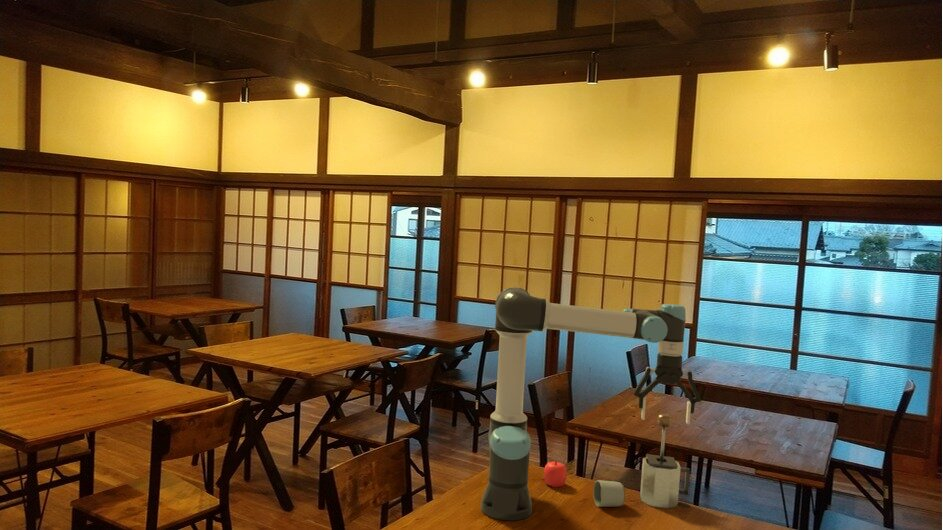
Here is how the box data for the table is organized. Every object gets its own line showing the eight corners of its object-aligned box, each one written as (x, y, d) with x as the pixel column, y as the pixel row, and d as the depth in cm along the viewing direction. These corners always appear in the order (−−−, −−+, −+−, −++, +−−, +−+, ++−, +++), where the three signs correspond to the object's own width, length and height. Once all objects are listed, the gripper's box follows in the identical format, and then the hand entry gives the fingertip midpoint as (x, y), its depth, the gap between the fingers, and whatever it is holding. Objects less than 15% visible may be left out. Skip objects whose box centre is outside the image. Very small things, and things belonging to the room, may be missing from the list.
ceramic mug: (626, 510, 201) (627, 485, 200) (600, 510, 199) (602, 485, 199) (612, 496, 211) (614, 472, 211) (588, 496, 210) (589, 473, 209)
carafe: (642, 505, 205) (645, 464, 204) (639, 492, 215) (642, 452, 215) (689, 511, 202) (692, 469, 201) (684, 497, 213) (687, 457, 212)
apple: (538, 480, 221) (540, 456, 220) (561, 479, 223) (562, 456, 222) (547, 489, 213) (549, 465, 213) (570, 488, 215) (572, 464, 215)
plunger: (649, 473, 205) (653, 417, 204) (647, 464, 213) (651, 411, 212) (674, 476, 204) (679, 420, 203) (671, 467, 212) (676, 413, 211)
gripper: (629, 352, 205) (625, 420, 206) (714, 359, 201) (708, 428, 202) (628, 348, 212) (623, 413, 213) (709, 355, 208) (704, 421, 209)
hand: (665, 420), depth 208 cm, fingers open, 13 cm apart
